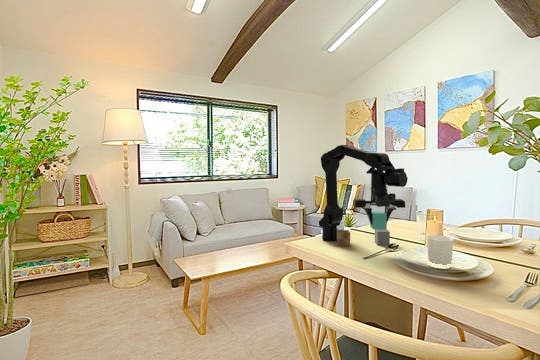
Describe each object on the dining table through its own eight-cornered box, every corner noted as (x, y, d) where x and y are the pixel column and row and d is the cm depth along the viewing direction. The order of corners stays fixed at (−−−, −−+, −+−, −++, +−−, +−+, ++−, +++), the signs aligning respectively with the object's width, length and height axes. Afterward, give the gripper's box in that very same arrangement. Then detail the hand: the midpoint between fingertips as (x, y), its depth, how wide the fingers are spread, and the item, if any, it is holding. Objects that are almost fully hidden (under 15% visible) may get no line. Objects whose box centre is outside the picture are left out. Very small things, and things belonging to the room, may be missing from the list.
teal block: (373, 229, 121) (373, 214, 120) (370, 226, 126) (370, 211, 125) (386, 229, 120) (386, 214, 120) (383, 226, 125) (383, 211, 125)
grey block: (377, 245, 134) (377, 231, 133) (374, 242, 139) (374, 229, 138) (389, 245, 133) (389, 231, 133) (386, 242, 138) (386, 229, 138)
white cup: (443, 272, 102) (444, 242, 101) (421, 264, 109) (422, 236, 108) (457, 268, 105) (458, 238, 105) (436, 261, 112) (436, 234, 112)
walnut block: (338, 246, 132) (338, 232, 132) (336, 243, 137) (336, 230, 137) (350, 246, 132) (350, 232, 132) (348, 243, 137) (348, 230, 136)
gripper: (358, 187, 115) (357, 229, 116) (410, 187, 113) (410, 229, 114) (353, 184, 126) (352, 223, 127) (400, 184, 124) (400, 223, 125)
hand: (378, 224), depth 123 cm, fingers closed on teal block, 5 cm apart
